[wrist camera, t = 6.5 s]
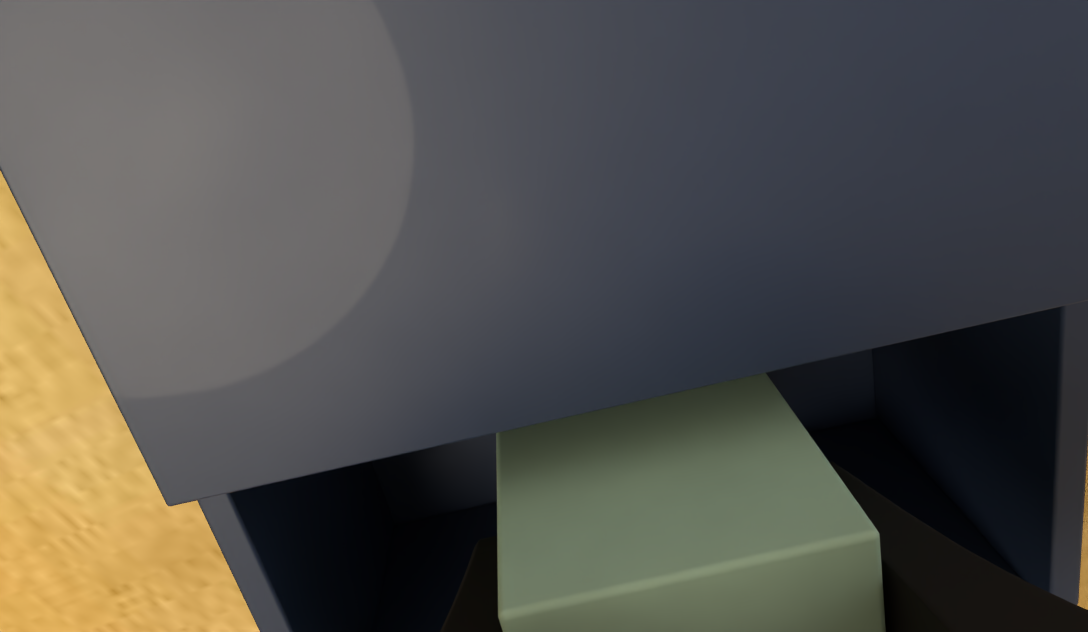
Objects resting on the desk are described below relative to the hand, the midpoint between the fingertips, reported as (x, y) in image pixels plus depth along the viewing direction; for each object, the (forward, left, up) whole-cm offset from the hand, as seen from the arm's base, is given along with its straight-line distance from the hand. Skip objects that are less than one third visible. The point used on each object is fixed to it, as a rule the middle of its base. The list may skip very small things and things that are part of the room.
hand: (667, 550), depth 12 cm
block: (0, 0, -1) cm, 1 cm away
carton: (+2, -2, -7) cm, 8 cm away
